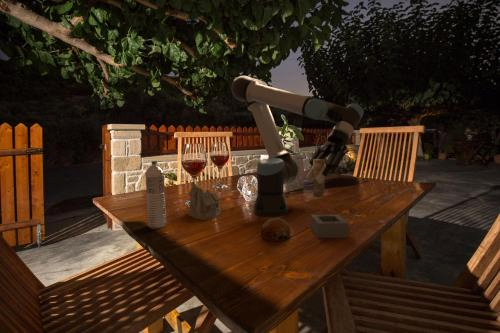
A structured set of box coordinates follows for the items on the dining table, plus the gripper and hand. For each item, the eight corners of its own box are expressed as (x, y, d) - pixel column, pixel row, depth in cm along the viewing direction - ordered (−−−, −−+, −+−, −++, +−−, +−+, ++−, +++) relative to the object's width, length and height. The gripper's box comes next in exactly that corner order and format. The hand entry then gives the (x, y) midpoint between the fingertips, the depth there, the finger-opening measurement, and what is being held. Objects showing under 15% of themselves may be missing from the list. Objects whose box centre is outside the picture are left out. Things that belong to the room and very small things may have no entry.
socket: (317, 238, 94) (318, 223, 94) (310, 227, 104) (311, 214, 103) (347, 237, 94) (348, 223, 94) (337, 227, 104) (338, 214, 104)
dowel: (314, 197, 106) (314, 160, 104) (312, 194, 110) (312, 159, 108) (325, 197, 106) (325, 160, 104) (322, 194, 110) (322, 158, 108)
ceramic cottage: (198, 221, 113) (198, 183, 113) (183, 213, 127) (183, 180, 126) (231, 216, 122) (232, 182, 122) (213, 209, 136) (214, 178, 135)
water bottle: (160, 222, 113) (157, 160, 110) (170, 225, 109) (167, 161, 105) (144, 226, 108) (140, 161, 105) (154, 230, 103) (150, 162, 100)
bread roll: (288, 242, 100) (287, 219, 103) (293, 240, 90) (291, 215, 93) (260, 243, 100) (259, 220, 102) (262, 241, 90) (261, 216, 93)
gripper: (363, 142, 108) (336, 190, 100) (326, 141, 121) (299, 183, 113) (356, 128, 104) (327, 177, 96) (318, 128, 117) (290, 171, 109)
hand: (312, 180), depth 105 cm, fingers closed on dowel, 4 cm apart
